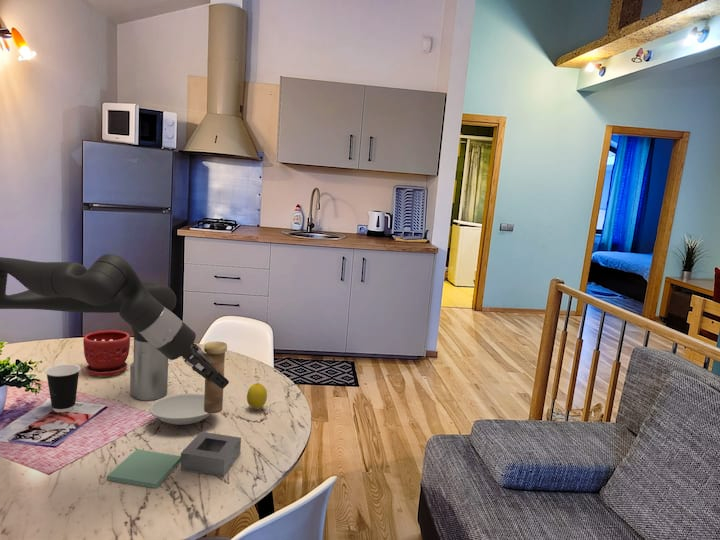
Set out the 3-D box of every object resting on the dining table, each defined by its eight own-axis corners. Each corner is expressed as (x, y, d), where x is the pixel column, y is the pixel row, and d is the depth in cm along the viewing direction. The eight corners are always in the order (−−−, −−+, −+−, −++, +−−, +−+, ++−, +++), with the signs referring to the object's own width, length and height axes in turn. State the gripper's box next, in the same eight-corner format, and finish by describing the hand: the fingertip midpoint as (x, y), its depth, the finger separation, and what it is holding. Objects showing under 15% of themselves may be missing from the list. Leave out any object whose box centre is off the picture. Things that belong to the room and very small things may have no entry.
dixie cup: (86, 402, 138) (86, 364, 136) (70, 416, 130) (70, 376, 128) (56, 401, 138) (56, 362, 136) (39, 414, 130) (38, 373, 128)
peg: (198, 412, 111) (200, 347, 109) (207, 403, 116) (210, 340, 114) (219, 415, 111) (221, 349, 108) (227, 406, 116) (230, 343, 113)
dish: (149, 440, 122) (149, 421, 121) (147, 414, 135) (147, 396, 134) (223, 431, 129) (224, 413, 129) (214, 407, 142) (215, 390, 141)
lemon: (261, 415, 140) (263, 388, 139) (243, 411, 141) (244, 385, 140) (269, 407, 145) (270, 380, 144) (251, 403, 146) (252, 377, 145)
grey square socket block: (180, 469, 111) (180, 453, 111) (200, 446, 121) (201, 431, 121) (223, 476, 110) (224, 459, 110) (240, 453, 120) (241, 437, 119)
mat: (106, 480, 106) (106, 475, 105) (136, 453, 116) (136, 449, 116) (156, 488, 104) (156, 484, 104) (181, 460, 115) (181, 456, 115)
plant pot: (138, 371, 162) (138, 335, 160) (98, 383, 151) (98, 344, 149) (114, 360, 169) (114, 326, 167) (74, 371, 158) (74, 334, 156)
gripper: (150, 335, 111) (205, 381, 119) (157, 357, 99) (217, 407, 106) (176, 311, 113) (228, 358, 120) (186, 330, 100) (243, 381, 108)
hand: (223, 381), depth 113 cm, fingers closed on peg, 4 cm apart
